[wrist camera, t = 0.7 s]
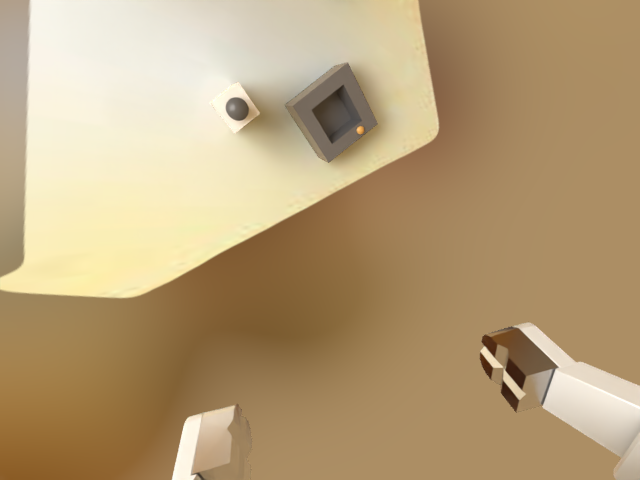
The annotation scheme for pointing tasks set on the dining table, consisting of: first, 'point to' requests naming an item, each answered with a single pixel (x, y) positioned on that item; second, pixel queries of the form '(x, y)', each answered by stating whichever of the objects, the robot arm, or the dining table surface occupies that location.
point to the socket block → (332, 112)
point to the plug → (235, 107)
